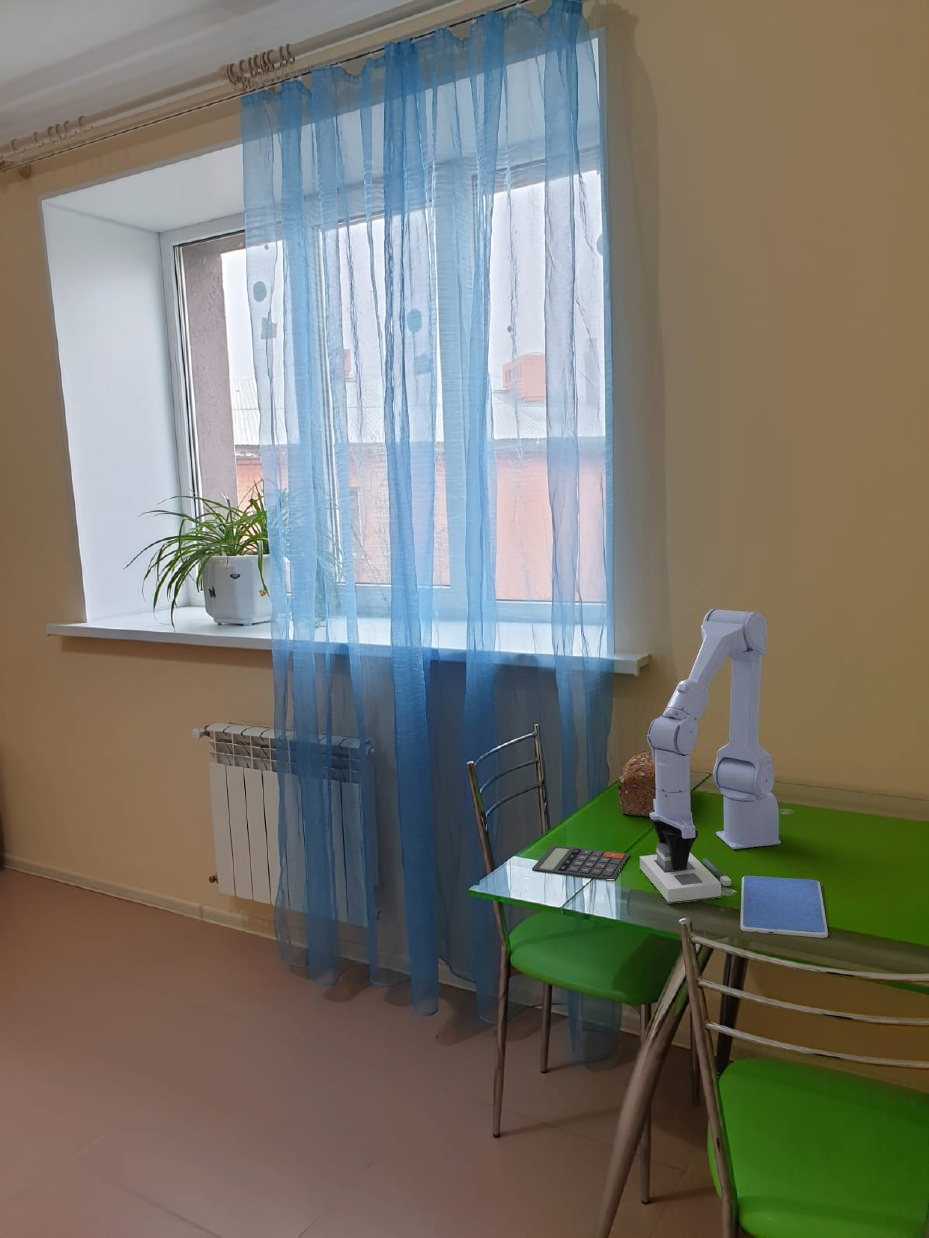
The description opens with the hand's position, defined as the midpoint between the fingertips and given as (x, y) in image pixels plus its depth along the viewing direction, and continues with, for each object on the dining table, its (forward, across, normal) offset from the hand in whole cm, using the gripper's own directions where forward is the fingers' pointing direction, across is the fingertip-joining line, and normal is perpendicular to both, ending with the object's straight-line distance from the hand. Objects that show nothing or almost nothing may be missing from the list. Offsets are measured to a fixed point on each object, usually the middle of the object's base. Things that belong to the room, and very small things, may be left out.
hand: (674, 863), depth 164 cm
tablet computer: (+4, +14, +12) cm, 19 cm away
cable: (+3, -1, +8) cm, 8 cm away
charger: (+2, 0, 0) cm, 2 cm away
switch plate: (+3, +2, 0) cm, 3 cm away
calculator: (+3, -11, -14) cm, 18 cm away
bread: (+3, -38, +9) cm, 39 cm away
